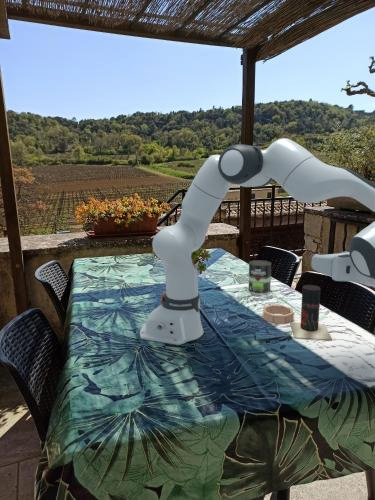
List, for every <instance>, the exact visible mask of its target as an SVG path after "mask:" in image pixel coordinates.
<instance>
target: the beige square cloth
mask: <svg viewBox="0 0 375 500" xmlns="http://www.w3.org/2000/svg"><path fill="white" fill-rule="evenodd" d="M289 324H290V328H291V332H292V335H293V339H295V340H297V339H298V340H311V339H318V340H317V341H329V340H332V341H333V338H332V336H331V334H330V332H329V330H328V328H327V326H326V325H325V323H318V330H317V331H305V330H303V329H301V322H294V321H291V322H289Z"/></svg>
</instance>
